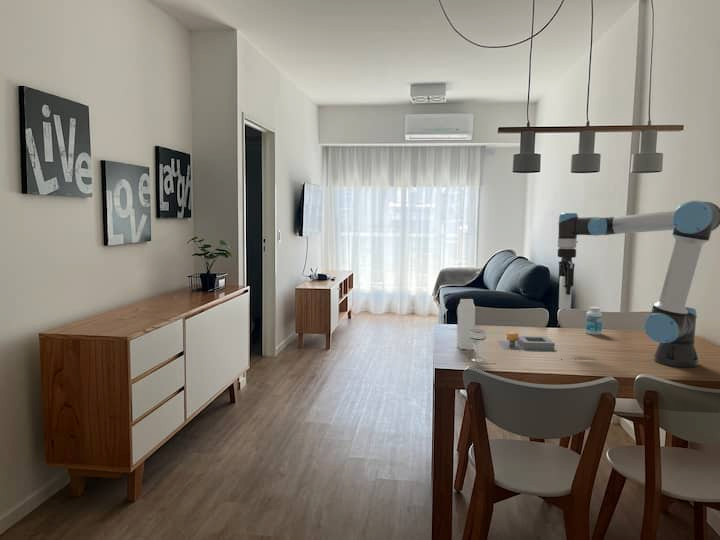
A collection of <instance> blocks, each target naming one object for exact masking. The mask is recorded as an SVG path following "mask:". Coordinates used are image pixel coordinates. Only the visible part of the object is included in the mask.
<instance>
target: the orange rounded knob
mask: <svg viewBox="0 0 720 540" xmlns="http://www.w3.org/2000/svg"><path fill="white" fill-rule="evenodd" d="M518 336H519V333H518V332H515V331H514V332H513V331H508V332H507V333H506V341H515V342H517V341H518Z"/></svg>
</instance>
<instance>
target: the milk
mask: <svg viewBox="0 0 720 540" xmlns="http://www.w3.org/2000/svg"><path fill="white" fill-rule="evenodd" d="M475 321H476V306H475V303H474V299H473V298H460V300H459V303H458V305H457V329H456V330H457V336H456V338H457V339H456V347H457V346H458V347H459V348H460V349H459V348H458V347H457V348H458V349H459V350H461V349H466V351H468V350H469V351H470V350H471V351H472V350H474V349H475V343H473V342H472V341H471V340H470V338H469V334H470V331H469V330H472V329H476V328H475V327H476V326H475V325H476V323H475ZM467 349H468V350H467Z"/></svg>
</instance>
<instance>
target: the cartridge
mask: <svg viewBox="0 0 720 540" xmlns="http://www.w3.org/2000/svg"><path fill="white" fill-rule="evenodd" d="M564 286H565V276H561V277H560V283H559V286H558V287H559V288H558V289H559V291H558V309H561V310H571V309H572V301H571V302H564ZM572 289H573V286H572V287H571V292H572Z"/></svg>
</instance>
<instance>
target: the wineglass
mask: <svg viewBox="0 0 720 540" xmlns="http://www.w3.org/2000/svg"><path fill="white" fill-rule="evenodd" d="M469 331H470V334H469V338H470V340H471V341H472V342H473V343H474V345H476V347H475V348H476V349H475V350H476V351H475V353H476V355H475V358H471V359H470V361H471V362H474V363H481V362H483V361H484V359H482V358H478V354H479V353H478V352H479V346H480V344H482V343H484V342H485V341H486V339H487V334H486V333H487V331H486V330H485V329H479V328H478V329H477V328H475V329H472V330H469Z"/></svg>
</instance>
